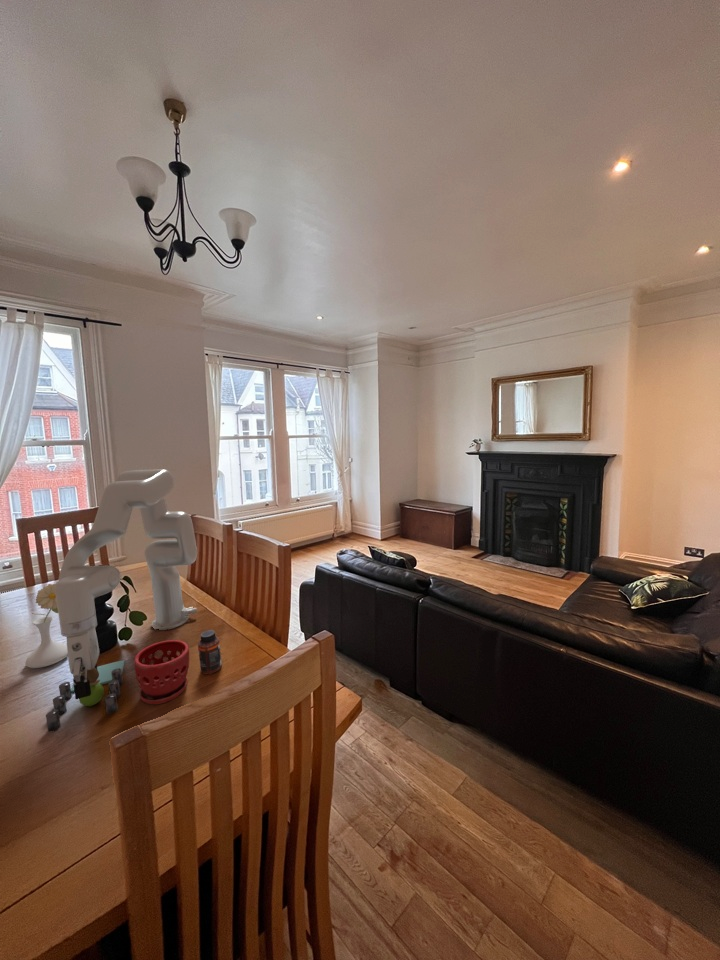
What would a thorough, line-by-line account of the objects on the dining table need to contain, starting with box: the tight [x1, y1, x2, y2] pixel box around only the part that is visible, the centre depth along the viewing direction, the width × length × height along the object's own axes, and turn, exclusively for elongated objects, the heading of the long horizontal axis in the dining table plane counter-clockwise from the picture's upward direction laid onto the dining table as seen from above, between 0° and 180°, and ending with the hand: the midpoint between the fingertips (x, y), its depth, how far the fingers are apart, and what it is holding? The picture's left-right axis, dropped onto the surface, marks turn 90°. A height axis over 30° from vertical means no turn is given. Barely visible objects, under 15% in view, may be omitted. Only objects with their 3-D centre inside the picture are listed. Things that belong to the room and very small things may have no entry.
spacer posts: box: [45, 668, 124, 733], centre depth 101 cm, size 14×14×4 cm
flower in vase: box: [24, 583, 68, 669], centre depth 121 cm, size 13×11×25 cm
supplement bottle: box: [197, 629, 223, 675], centre depth 114 cm, size 6×6×11 cm
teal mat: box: [71, 659, 126, 694], centre depth 113 cm, size 12×10×1 cm
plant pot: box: [134, 639, 190, 705], centre depth 104 cm, size 13×13×12 cm
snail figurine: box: [78, 668, 105, 707], centre depth 101 cm, size 5×6×12 cm
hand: (87, 685), depth 101 cm, fingers open, 9 cm apart
